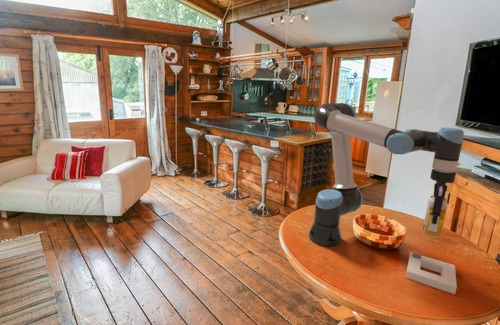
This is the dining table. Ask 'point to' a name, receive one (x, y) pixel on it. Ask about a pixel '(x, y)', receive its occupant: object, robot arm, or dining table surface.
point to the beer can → (427, 217)
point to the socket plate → (441, 282)
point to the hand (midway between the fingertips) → (432, 227)
